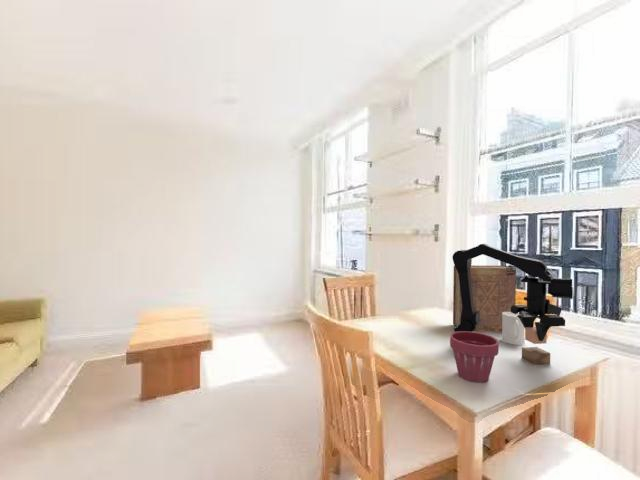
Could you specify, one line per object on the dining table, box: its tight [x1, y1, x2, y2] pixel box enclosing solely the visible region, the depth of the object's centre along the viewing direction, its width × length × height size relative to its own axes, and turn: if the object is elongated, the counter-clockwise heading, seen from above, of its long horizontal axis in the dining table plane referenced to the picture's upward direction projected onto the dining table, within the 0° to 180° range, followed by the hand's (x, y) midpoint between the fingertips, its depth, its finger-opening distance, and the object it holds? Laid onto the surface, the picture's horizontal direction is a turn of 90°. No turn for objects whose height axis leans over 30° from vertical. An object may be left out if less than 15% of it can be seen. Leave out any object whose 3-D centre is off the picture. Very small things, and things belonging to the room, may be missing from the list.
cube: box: [524, 326, 548, 345], centre depth 114 cm, size 4×4×4 cm
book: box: [452, 265, 517, 332], centre depth 155 cm, size 25×9×30 cm, turn 84°
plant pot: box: [449, 331, 500, 383], centre depth 104 cm, size 14×14×13 cm
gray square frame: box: [520, 357, 552, 367], centre depth 115 cm, size 8×8×1 cm
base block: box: [521, 346, 551, 366], centre depth 115 cm, size 6×6×4 cm
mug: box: [500, 312, 526, 346], centre depth 134 cm, size 12×8×12 cm
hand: (535, 338), depth 114 cm, fingers closed on cube, 4 cm apart
